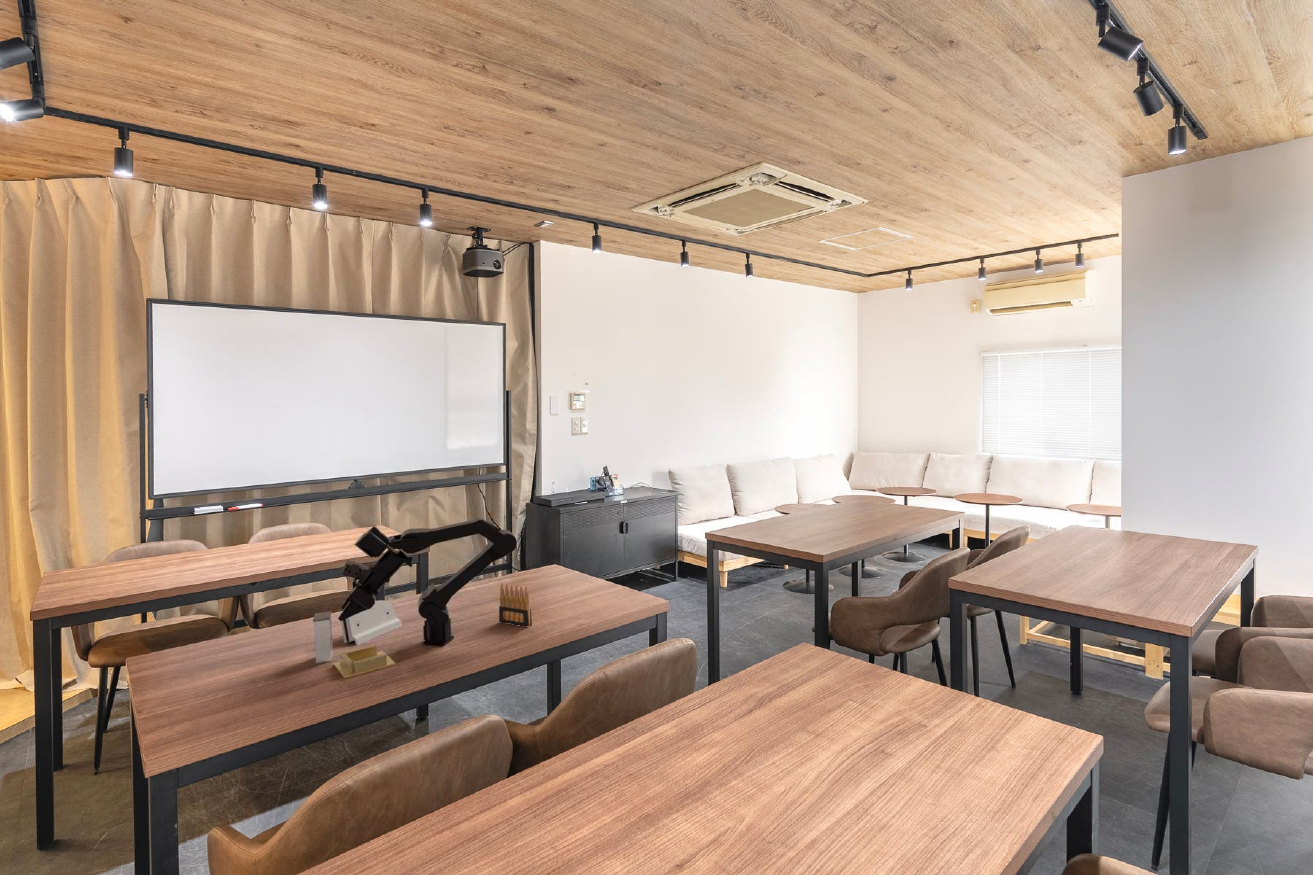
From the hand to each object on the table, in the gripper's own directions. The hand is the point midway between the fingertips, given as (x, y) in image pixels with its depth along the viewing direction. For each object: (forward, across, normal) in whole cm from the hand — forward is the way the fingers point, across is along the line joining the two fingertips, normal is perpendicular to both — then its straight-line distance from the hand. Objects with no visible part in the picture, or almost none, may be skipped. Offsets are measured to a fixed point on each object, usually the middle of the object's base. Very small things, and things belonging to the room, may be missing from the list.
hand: (340, 614), depth 170 cm
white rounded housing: (+4, -15, +13) cm, 20 cm away
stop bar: (+11, 0, +5) cm, 12 cm away
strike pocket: (+4, +9, +12) cm, 15 cm away
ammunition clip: (-25, -5, +40) cm, 48 cm away
